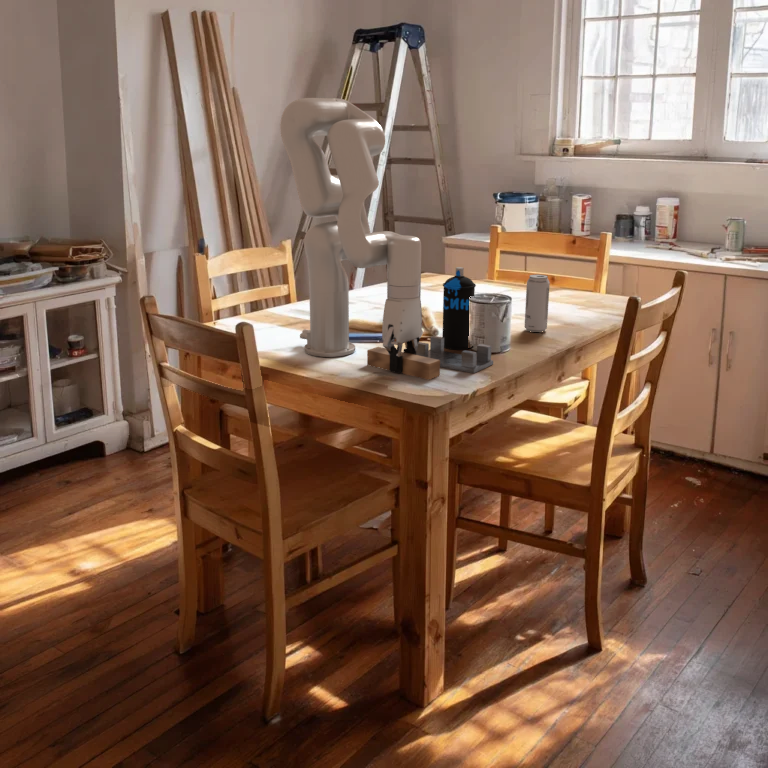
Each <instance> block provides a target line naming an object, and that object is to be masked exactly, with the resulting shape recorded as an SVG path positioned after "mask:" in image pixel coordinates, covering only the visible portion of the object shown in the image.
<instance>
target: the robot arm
mask: <svg viewBox="0 0 768 768" xmlns="http://www.w3.org/2000/svg"><path fill="white" fill-rule="evenodd" d="M279 126H280V129H279V130H280V137H281V140H282V144H283V147H284V148H285V151H286V154H287V156H288V159H289V162H290V165H291V168H292V174H293V178H294V181H295V187H296V190H297V191H296V192H297V195H298V200H299V202H300V206H301V208H302V211H303V212H304V214H305V215H306V216H308V217H310V218H314V219H315V218H318V219H319V218H320V219H321V218H328V217H335V219H336V220H333V221H326V222H325V221H324V222H319V223H316V224H314V225H313V226H311V227H310V228H309V229H308V230H307V231H306V233H305V235H304V239H303V245H304V246H303V247H304V253H305V257H306V261H307V262H306V263H307V270H308V285H309V286H308V287H309V288H308V289H309V329H306V328H305V329H303V330H302V332H301V333H300V335H299V339H301V340H303V339H304V340H306V344H305V345H304V352H305V353H306V354H308V355H310V356H314V357H321V358H323V357H324V358H335V357H343V356H348V355H351V354H353V353H355V352H356V345H355V344H354V343H352V342H350V319H349V318H350V313H349V312H350V310H349V307H350V306H349V303H350V302H349V301H350V300H349V299H350V297H349V294H350V293H349V292H350V289H349V277H348V275H347V271H346V269H345V267H344V265H343V264H342V261H346V260H347V261H348V263H350V265H352V266H353V267H355V268H358V269H368V268H373V267H377V266H379V267H380V266H384V265H385V266H387V267H386V268H387V269H386V278H387V279H386V281H387V282H386V294H387V295H386V299H385V303H384V308H383V315H382V328H381V335H382V341H383V342H382V347H383V348H386V350H387V351H388V355H390V370H389V371H390V372H391V373H397V374H402V369H403V356H401V352H405V353H410V354H414V355H416V351H415V350H417V349H418V343H419V342H420V340H421V337H422V335H423V333H424V331H423V329H422V328H423V314H422V313H423V312H422V311H423V310H422V303H421V302H422V301H421V300H422V299H421V296H422V295H421V293H422V292H421V290H422V289H421V287H422V286H421V283H422V279H421V278H422V269H421V268H422V242H421V239H420V238H419V237H417V236H414V235H402V234H399V233H397V232H394V231H391V230H390V231H388V230H384V231H374V232H371V228H370V225H369V224H370V223H369V220H368V216H367V215H368V214H367V211H366V207H365V201H366V199H367V198H368V197H369V196H370V195H371V194H372V193H374V192H375V191H376V190H377V189H378V188H379V184H380V181H379V178H378V174H377V172H376V171H377V170H376V168H375V165H374V162H373V158H372V157H375V156H378V155H380V154H381V153H382V152H383V151H384V148H385V145H386V135H385V131H384V129H383V127H382V126H381V124H379V122H378V121H377V120H376V119H375V118H373V117H372V116H371V115H369V114H368V113H367V112H365V111H363V110H362V109H360V108H359V107H358V106H356V105H354V104H353V103H352V102H350V101H348V100H346V99H343V98H339V97H338V98H337V97H336V98H335V97H334V98H333V97H332V98H331V97H330V98H329V97H328V98H326V97H305V98H304V97H303V98H299V99H296V100H293V101H291V102H289V104H287V106H286V107H285V108H284V110H283V112H282V115H281V117H280V124H279ZM317 136H319V137H323V136H325V137H327V143H328V147H329V151H330V154H331V157H332V160H333V164H334V167H335V170H336V174H337V175H332V174H331V171H330V168H329V164H328V159H327V156H326V155H325V154H326V153H324V151H323V149H322V147H321V146H320V144H319V143H317V141H315V138H314V137H317ZM403 344H404V345H405V346H404V347H405V348H403ZM395 346H397V347H395Z"/></svg>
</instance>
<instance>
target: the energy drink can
mask: <svg viewBox="0 0 768 768" xmlns="http://www.w3.org/2000/svg"><path fill="white" fill-rule="evenodd" d="M550 284H551V282H550V280H549V278H548V275H546V274H539V273H537V274H530V275H529V277H528V279H527V281H526V291H525V292H526V293H525V311H524V329H525V330H527V331H531V332H542V331H546V330H547V329H548V317H549V300H550V299H549V298H550V286H551V285H550ZM527 331H526V332H527Z"/></svg>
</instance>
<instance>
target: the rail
mask: <svg viewBox="0 0 768 768" xmlns="http://www.w3.org/2000/svg"><path fill="white" fill-rule="evenodd" d="M366 354H367V361H366V362H367V363H366V364H367V366H368V365H371V366H370V367H373V366H375V367H374V368H377V367H380V368H379V369H381V368H383V369H382V370H385V369H387V370H386V371H390V355H388V351H387V350H386V348H385V347H383V346H382V347H381V346H376V347H373V348H370V349H367V351H366ZM401 356H403V369H402V373H403V375H406V376H412V377H416V378H419V377H420V378H421V379H424V378H425V379H424V380H428V379H430V380H432V378H433V379H435V378H437V376H438V377H440V376H441V372H440V371H441V367H440V360H437V359H433V358H428V357H423V356H419V355H414V354H410V353H405V352H404V351H401ZM402 373H401V374H402ZM439 375H440V376H439ZM434 377H435V378H434Z"/></svg>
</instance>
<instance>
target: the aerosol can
mask: <svg viewBox="0 0 768 768" xmlns="http://www.w3.org/2000/svg"><path fill="white" fill-rule="evenodd" d="M464 273H465V271H464V267H461V266H457V267H455V275H454V276H451V277H449V278H447V279H446V280H445V282H443V283H442V286H443V302H442V304H443V305H442V336H441V337H443V338H444V349H448V350H453V351H465V350H466V351H467V350H469V349H468V336H469V297H470V296H474V297H475V293H476V292H475V289H476V286H477V285H476V283H474V281H473V280H472V279H471V278H469V277H466V276H465V275H464ZM470 298H471V297H470Z"/></svg>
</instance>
